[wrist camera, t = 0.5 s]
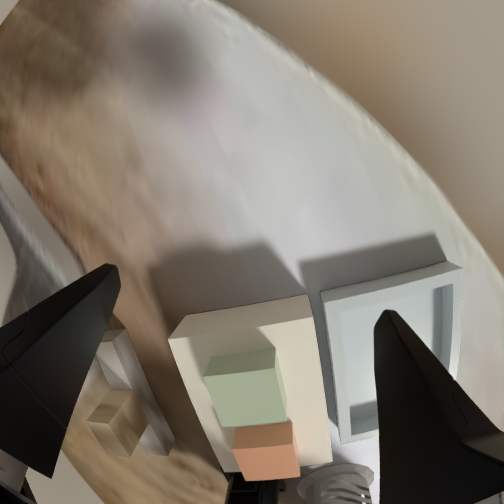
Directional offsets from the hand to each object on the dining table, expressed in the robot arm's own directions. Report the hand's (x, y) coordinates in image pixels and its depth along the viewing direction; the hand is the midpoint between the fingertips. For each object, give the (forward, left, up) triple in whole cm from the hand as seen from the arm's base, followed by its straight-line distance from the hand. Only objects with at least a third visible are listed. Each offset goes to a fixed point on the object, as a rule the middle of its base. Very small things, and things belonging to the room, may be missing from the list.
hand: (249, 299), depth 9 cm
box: (-12, -9, -13) cm, 20 cm away
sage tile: (-9, +3, -9) cm, 13 cm away
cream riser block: (-12, +3, -13) cm, 18 cm away
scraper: (-12, +15, -14) cm, 24 cm away
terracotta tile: (-16, +3, -9) cm, 18 cm away
